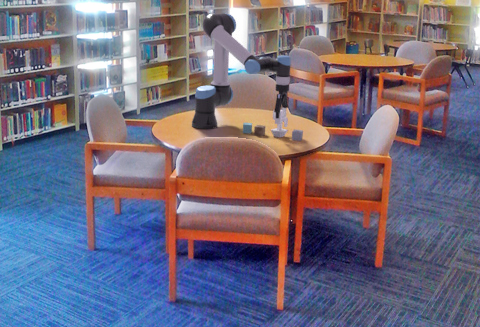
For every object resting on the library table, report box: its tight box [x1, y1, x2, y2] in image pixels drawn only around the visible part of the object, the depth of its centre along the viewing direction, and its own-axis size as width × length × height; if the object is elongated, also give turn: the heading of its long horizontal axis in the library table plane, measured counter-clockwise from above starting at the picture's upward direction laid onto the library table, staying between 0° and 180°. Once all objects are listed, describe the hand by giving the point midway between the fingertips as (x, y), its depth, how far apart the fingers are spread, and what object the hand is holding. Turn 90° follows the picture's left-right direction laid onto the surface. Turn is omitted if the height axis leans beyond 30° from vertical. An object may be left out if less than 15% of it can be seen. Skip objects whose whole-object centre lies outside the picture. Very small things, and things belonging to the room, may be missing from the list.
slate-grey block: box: [291, 129, 304, 142], centre depth 328 cm, size 5×5×5 cm
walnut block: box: [253, 124, 266, 137], centre depth 335 cm, size 5×5×5 cm
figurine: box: [270, 109, 289, 138], centre depth 332 cm, size 7×9×15 cm
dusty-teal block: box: [242, 122, 253, 134], centre depth 339 cm, size 5×5×5 cm
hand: (280, 121), depth 331 cm, fingers open, 13 cm apart
